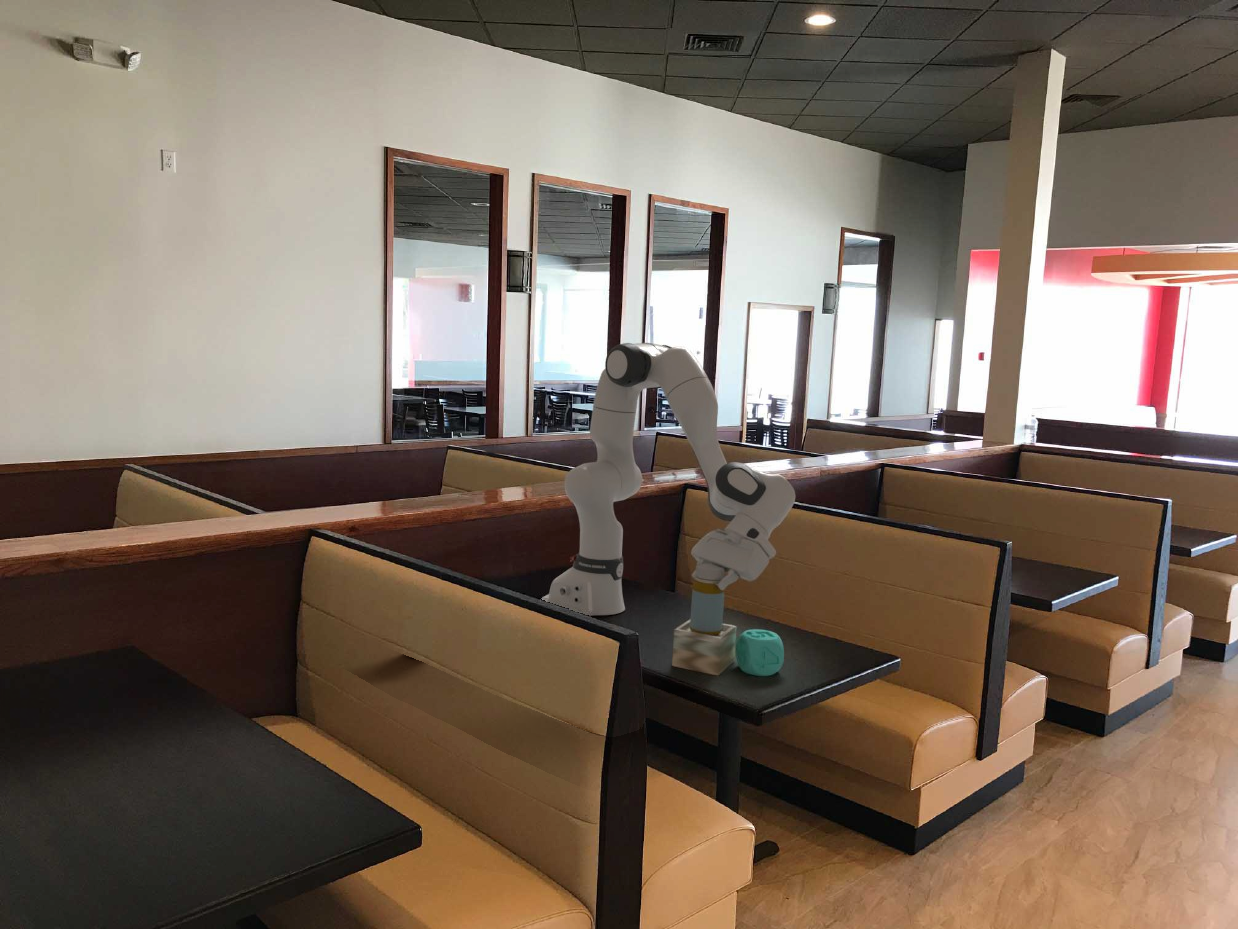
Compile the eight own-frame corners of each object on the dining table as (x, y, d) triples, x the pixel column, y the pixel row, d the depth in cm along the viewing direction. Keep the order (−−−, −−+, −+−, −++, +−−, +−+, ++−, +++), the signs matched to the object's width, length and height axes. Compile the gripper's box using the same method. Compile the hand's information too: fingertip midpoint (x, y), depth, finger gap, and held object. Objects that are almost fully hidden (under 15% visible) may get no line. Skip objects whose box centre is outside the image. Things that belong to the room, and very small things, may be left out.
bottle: (723, 629, 207) (728, 564, 204) (718, 639, 200) (723, 572, 198) (692, 625, 208) (697, 560, 206) (686, 635, 202) (691, 568, 199)
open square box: (672, 665, 202) (674, 629, 201) (690, 652, 212) (692, 617, 211) (717, 675, 198) (720, 638, 197) (734, 661, 207) (736, 626, 206)
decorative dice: (783, 675, 200) (785, 639, 199) (749, 677, 198) (751, 641, 197) (767, 663, 208) (769, 628, 207) (734, 664, 205) (736, 629, 204)
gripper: (708, 518, 213) (671, 563, 209) (767, 536, 196) (728, 585, 192) (722, 536, 216) (686, 580, 212) (781, 555, 199) (743, 604, 195)
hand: (706, 583), depth 202 cm, fingers open, 7 cm apart
